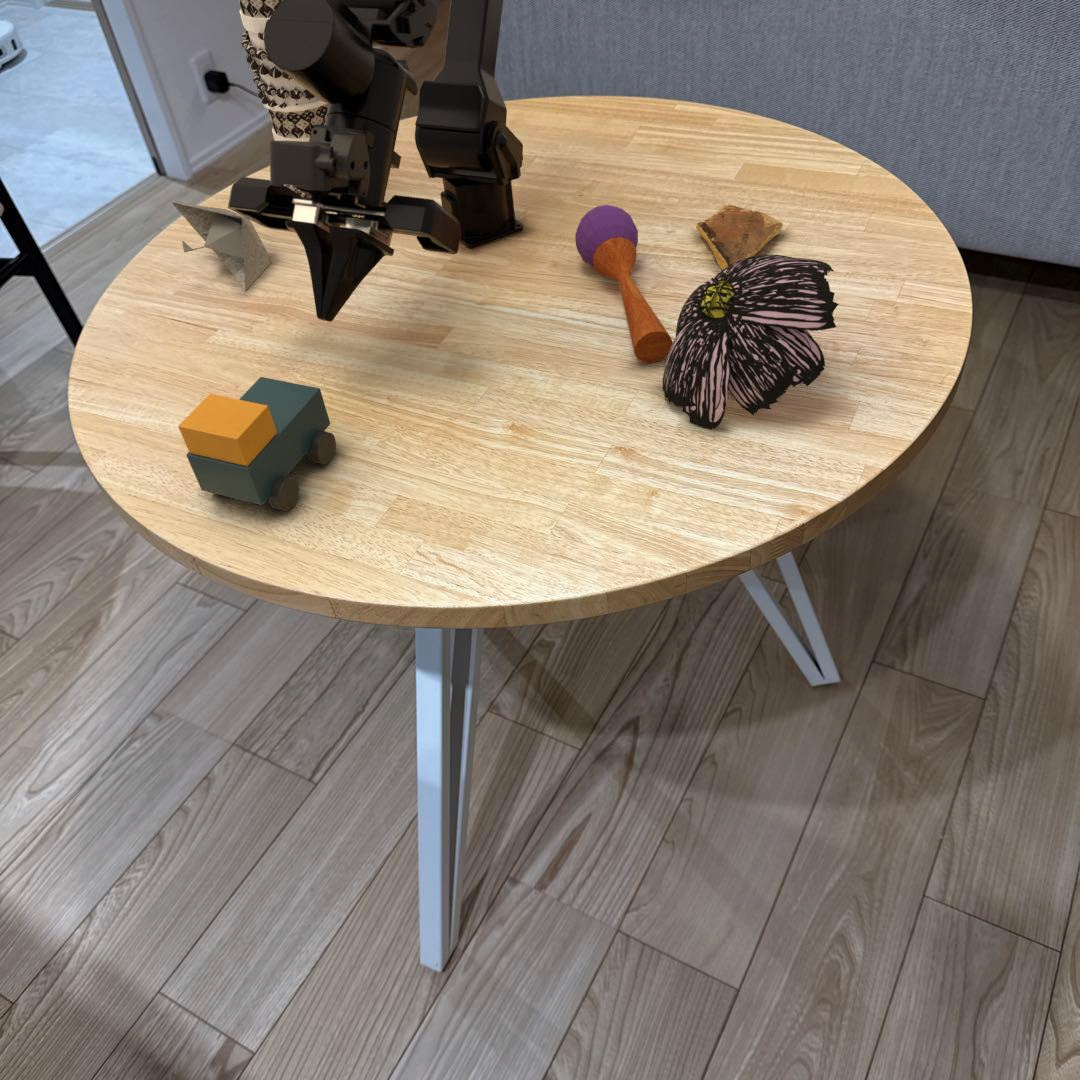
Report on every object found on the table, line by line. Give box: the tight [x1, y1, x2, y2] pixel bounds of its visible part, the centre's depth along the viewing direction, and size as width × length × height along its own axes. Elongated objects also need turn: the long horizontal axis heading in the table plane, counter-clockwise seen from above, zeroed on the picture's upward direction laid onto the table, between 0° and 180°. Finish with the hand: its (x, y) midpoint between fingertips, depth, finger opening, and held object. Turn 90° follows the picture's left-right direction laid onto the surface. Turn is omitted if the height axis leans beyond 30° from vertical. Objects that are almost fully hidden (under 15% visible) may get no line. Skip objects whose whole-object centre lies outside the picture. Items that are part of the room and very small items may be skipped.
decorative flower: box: [662, 254, 839, 431], centre depth 80 cm, size 14×12×15 cm
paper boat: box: [171, 201, 272, 292], centre depth 101 cm, size 12×6×9 cm
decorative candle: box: [238, 0, 337, 214], centre depth 104 cm, size 9×9×25 cm
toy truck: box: [177, 376, 337, 512], centre depth 77 cm, size 8×7×10 cm
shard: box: [695, 204, 784, 271], centre depth 97 cm, size 11×8×2 cm
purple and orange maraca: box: [574, 204, 673, 364], centre depth 91 cm, size 6×6×20 cm
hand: (324, 320), depth 81 cm, fingers closed
